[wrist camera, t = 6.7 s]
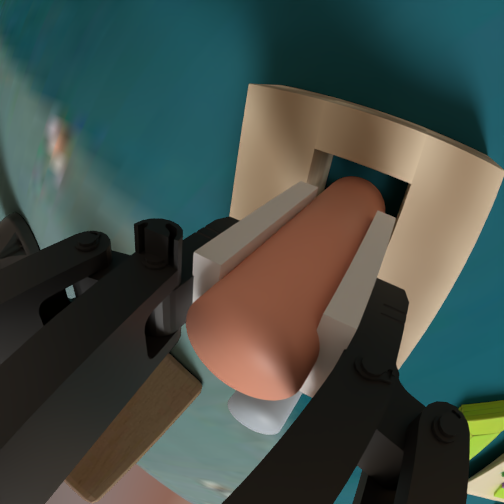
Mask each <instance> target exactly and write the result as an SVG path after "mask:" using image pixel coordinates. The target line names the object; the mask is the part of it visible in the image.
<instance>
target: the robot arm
mask: <svg viewBox="0 0 504 504" xmlns="http://www.w3.org/2000/svg"><path fill="white" fill-rule="evenodd" d="M317 191H318V187H316V186H313V185H311V184H308V183H305V182H302V181H300V182H298V183H297V184H295V185H293V186H292V187H290V188H289V189H287V190H286V191H284V192H283V193H281V194H280V195H278V196H277V197H275V198H274V199H272V200H270V201H269V202H267V203H266V204H264V205H263V206H261V207H260V208H258V209H257V210H255V211H254V212H252V213H251V214H249V215H248V216H246V217H245V218H243V219H242V220H237V219H235V218H232V217H226V218H221V219H217V220H215V221H213V222H211V223H210V224H208V225H206V227H205V228H204V227H203V228H202V229H200V230H198V231H197V233H193V234H192V235H190V236H189V237H187V238H185V239H184V240H183V230H182V228H181V227H180V226H179V225H178V224H176V223H174V222H172V221H170V220H165V219H147V220H142V221H139V222H137V223H135V224H134V234H135V253H134V254H132V255H127V254H123V253H119V252H115V251H112V250H111V243H110V238H109V237H108V236H107V235H106V234H104V233H102V232H97V231H86V232H82V233H79V234H76V235H74V236H71V237H69V238H67V239H64V240H62V241H60V242H58V243H55V244H53V245H51V246H49V247H46V248H44V249H42V250H40V251H39V248H38V246H37V243H36V241H35V239H34V237H33V235H32V233H31V231H30V229H29V227H28V225H27V224H26V222H25V221H24V219H23V218H22V217H21V216H20V215H19V214H18V213H12V214H10V215H8V216H6V217H5V218H4V219H3V220H2V221H1V222H0V504H45V503H46V502H47V501H48V499H49V498H50V497H51V496H52V495H53V493H54V492H55V491H56V490H57V488H58V487H59V486H60V485H61V483H62V482H63V481H64V480H65V479H66V477H67V476H68V475H69V474H70V473H71V471H72V470H73V469H74V468H75V466H76V465H77V464H78V463H79V462H80V460H81V459H82V458H83V457H84V455H85V454H86V453H87V452H88V451H89V449H90V448H91V447H92V446H93V444H94V443H95V442H96V441H97V440H98V438H99V437H100V436H101V435H102V433H103V432H104V431H105V430H106V429H107V427H108V426H109V425H110V424H111V422H112V421H113V420H114V419H115V418H116V416H117V415H118V414H119V413H120V411H121V410H122V409H123V408H124V407H125V405H126V404H127V403H128V402H129V400H130V399H131V398H132V397H133V396H134V394H135V393H136V392H137V391H138V389H139V388H140V387H141V386H142V385H143V383H144V382H145V381H146V380H147V379H148V377H149V376H150V375H151V374H152V372H153V371H154V370H155V369H156V368H157V366H158V365H159V364H160V363H161V361H162V360H163V359H164V358H165V357H166V355H167V354H168V353H169V352H170V350H171V349H172V348H173V347H174V346H175V344H176V343H177V342H178V340H179V338H180V336H181V326H182V325H183V324H185V323H186V317H187V313H188V310H189V308H190V306H191V305H192V304H193V303H194V302H195V301H196V300H197V299H198V298H199V297H200V296H202V295H203V294H204V293H205V292H206V291H207V290H209V289H210V288H211V287H212V286H213V285H214V284H216V283H217V282H218V281H220V280H221V279H222V278H223V277H224V276H226V275H227V274H228V273H229V272H230V271H231V270H233V269H234V268H235V267H236V266H237V265H238V264H239V263H241V262H242V261H243V260H244V259H245V258H246V257H248V256H249V255H250V254H251V253H252V252H253V251H255V250H256V249H257V248H258V247H259V246H260V245H262V244H263V243H264V242H265V241H266V240H267V239H269V238H270V237H271V236H272V235H273V234H274V233H276V232H277V231H278V230H279V229H280V228H281V227H283V226H284V225H285V224H286V223H287V222H288V221H290V220H291V219H292V218H293V217H294V216H295V215H297V214H298V213H299V212H300V211H301V210H302V209H304V208H305V207H306V206H307V205H308V204H309V203H311V202H312V201H313V200H314V199H315V198H316V195H317ZM395 220H396V218H395V217H393V216H390V215H388V214H385V213H383V212H381V211H377V213H376V215H375V217H374V219H373V221H372V223H371V225H370V227H369V229H368V231H367V233H366V235H365V237H364V239H363V241H362V243H361V245H360V247H359V249H358V251H357V253H356V255H355V257H354V259H353V260H352V262H351V264H350V266H349V268H348V270H347V272H346V274H345V276H344V277H343V279H342V281H341V283H340V285H339V287H338V288H337V290H336V292H335V294H334V296H333V297H332V299H331V301H330V303H329V304H328V306H327V308H326V310H325V311H324V313H323V315H322V318H321V320H320V323H319V325H318V328H317V333H318V337H319V343H320V350H319V356H318V358H317V361H316V363H315V365H314V366H313V368H312V370H311V372H310V374H309V375H308V377H307V379H306V381H305V382H304V384H303V386H302V387H301V389H300V390H299V391H300V392H302V393H304V394H306V395H308V396H310V397H312V399H311V401H310V402H309V403H308V405H307V406H306V407H305V408H304V410H303V411H302V412H301V414H300V415H299V416H298V418H297V419H296V420H295V421H294V423H293V424H292V425H291V426H290V428H289V429H288V430H287V431H286V433H285V434H284V435H283V436H282V437H281V439H280V440H279V441H278V442H277V444H276V445H275V446H274V447H273V448H272V449H271V451H270V452H269V453H268V454H267V455H266V456H265V458H264V459H263V460H262V461H261V462H260V463H259V464H258V466H257V467H256V468H255V469H254V470H253V471H252V472H251V473H250V474H249V476H248V477H247V478H246V479H245V480H244V481H243V482H242V483H241V484H240V485H239V486H238V487H237V488H236V489H235V490H234V492H233V493H232V494H231V495H230V496H229V497H228V498H227V499H226V500H225V501H224V502H223V503H222V504H333V503H334V501H335V500H336V498H337V497H338V495H339V494H340V492H341V491H342V489H343V487H344V486H345V484H346V483H347V481H348V479H349V478H350V476H351V474H352V473H353V471H354V469H355V468H356V466H359V467H360V468H361V469H362V473H361V477H360V480H359V484H358V487H357V491H356V494H355V497H354V501H353V504H466V499H467V489H468V476H469V458H470V431H469V425H468V422H467V420H466V418H465V416H464V415H463V413H462V412H461V411H460V410H459V409H458V408H457V407H456V406H453V405H451V404H449V403H447V402H438V401H437V402H434V403H431V404H429V405H428V406H427V407H425V406H424V405H423V404H421V403H420V402H419V401H418V400H416V399H415V398H414V397H413V396H411V395H410V394H409V393H408V392H407V391H406V390H405V388H404V387H403V386H402V384H401V383H400V380H399V372H398V368H397V365H396V362H397V358H398V353H399V349H400V345H401V341H402V336H403V331H404V327H405V326H404V325H405V322H406V317H407V316H406V315H407V312H408V306H409V300H408V298H407V295H406V292H405V290H404V289H401V288H399V287H397V286H395V285H392V284H390V283H388V282H386V281H383V280H381V279H379V278H377V276H378V273H379V270H380V267H381V264H382V261H383V258H384V255H385V252H386V249H387V246H388V243H389V240H390V236H391V233H392V230H393V227H394V223H395ZM71 285H73V288H74V292H75V296H76V298H73V299H70V298H68V297H67V294H66V290H65V288H67V287H69V286H71Z"/></svg>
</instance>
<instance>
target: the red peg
mask: <svg viewBox="0 0 504 504" xmlns="http://www.w3.org/2000/svg"><path fill="white" fill-rule="evenodd" d="M377 211H381V212H383V213H385V203H384V199H383V197H382V195H381V193H380V192H379V190H378V189H377V188H376V187H375V186H374V185H373V184H372V183H371V182H369V181H368V180H365V179H363V178H360V177H355V176H348V177H343V178H340V179H338V180H337V181H335V182H334V183H332V184H331V185H330V186H329V187H328V188H327V189H325V190H324V191H323V192H322V193H321V194H320V195H318V196H317V197H316V198H315V199H314V200H313V201H312V202H311V203H309V204H308V205H307V206H306V207H305V208H304V209H302V210H301V211H300V212H299V213H298V214H297V215H295V216H294V217H293V218H292V219H291V220H290V221H288V222H287V223H286V224H285V225H284V226H283V227H281V228H280V229H279V230H278V231H277V232H276V233H274V234H273V235H272V236H271V237H270V238H269V239H267V240H266V241H265V242H264V243H263V244H262V245H260V246H259V247H258V248H257V249H256V250H255V251H253V252H252V253H251V254H250V255H249V256H248V257H246V258H245V259H244V260H243V261H242V262H241V263H239V264H238V265H237V266H236V267H235V268H234V269H233V270H231V271H230V272H229V273H228V274H227V275H226V276H224V277H223V278H222V279H221V280H220V281H218V282H217V283H216V284H214V285H213V286H212V287H211V288H210V289H209V290H207V291H206V292H205V293H204V294H203V295H202V296H200V297H199V298H198V299H197V300H196V301H195V302H194V303H193V304H192V305H191V306H190V308H189V310H188V313H187V317H186V328H187V333H188V337H189V340H190V342H191V344H192V346H193V348H194V350H195V352H196V354H197V355H198V357H199V358H200V359H201V361H202V362H203V363H204V364H205V366H206V367H207V368H208V369H209V370H210V371H211V372H212V373H213V374H214V375H215V376H217V377H218V378H219V379H220V380H221V381H223V382H224V383H225V384H227V385H228V386H230V387H232V388H233V389H235V390H237V391H239V392H241V393H243V394H245V395H248V396H251V397H254V398H258V399H262V400H272V401H275V400H283V399H287V398H289V397H292V396H293V395H295V394H296V393H297V392H298V391H299V390H300V389H301V387H302V386H303V384H304V382H305V381H306V379H307V377H308V375H309V374H310V372H311V370H312V368H313V366H314V365H315V363H316V361H317V358H318V356H319V350H320V343H319V337H318V333H317V328H318V325H319V323H320V320H321V318H322V315H323V313H324V311H325V310H326V308H327V306H328V304H329V303H330V301H331V299H332V297H333V296H334V294H335V292H336V290H337V288H338V287H339V285H340V283H341V281H342V279H343V277H344V276H345V274H346V272H347V270H348V268H349V266H350V264H351V262H352V260H353V259H354V257H355V255H356V253H357V251H358V249H359V247H360V245H361V243H362V241H363V239H364V237H365V235H366V233H367V231H368V229H369V227H370V225H371V223H372V221H373V219H374V217H375V215H376V213H377Z"/></svg>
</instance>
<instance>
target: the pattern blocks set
mask: <svg viewBox="0 0 504 504" xmlns="http://www.w3.org/2000/svg"><path fill="white" fill-rule="evenodd" d="M459 410H460V411H461V412H462V413H463V415H464V416H465V418H466V420H467V422H468V425H469V431H470V458H469V460H470V459H472V458H473V457H474V456H475V455H476V454H478V453H479V452H480V451H481V450H482V449H483V448H485V447H486V446H487V445H488V444H489V443H490V442H491V441H492V440H493V439H494V438H496V437H497V436H498V435H499V434H500V432H501V431H503V430H504V400H500V401H493V402H485V403H476V404H465V405H462V406H461V407H460V408H459ZM467 494H471V495H475V496H479V497H483V498H487V499H491V500H496V501H501V502H504V453H503V454H502V455H501V456H499V457H498V458H497V459H496V460H494V461H493V462H492V463H490V464H489V465H488V466H486V467H485V468H483V469H482V470H481V471H479V472H478V473H476V474H475V475H474V476H472V477H471V478H469V479H468V489H467Z"/></svg>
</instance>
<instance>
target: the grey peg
mask: <svg viewBox="0 0 504 504" xmlns="http://www.w3.org/2000/svg"><path fill="white" fill-rule="evenodd" d="M301 394H302V392H300V391H298V392H297V393H296V394H295V395H293V396H292V397H289V398H287V399H283V400H275V401H272V400H262V399H258V398H254V397H251V396H248V395H245V394H243V393H241V392H239V391H237V390H236V391H235V393H234V394H233V395H232V396H231V398H230V399H229V400H228V408H229V410H230V412H231V414H232V415H233V416H234V417H235V418H236V419H237V420H238V421H239V422H240V423H241V424H243V425H244V426H246V427H247V428H249V429H251V430H253V431H256V432H258V433H262V434H267V435H273V434H277V433H278V432H279V431H280V430H281V428H282V427H283V425H284V423H285V422H286V420H287V418H288V417H289V415H290V413H291V412H292V410H293V408H294V406H295V405H296V403H297V401H298V400H299V398H300V396H301Z"/></svg>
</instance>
